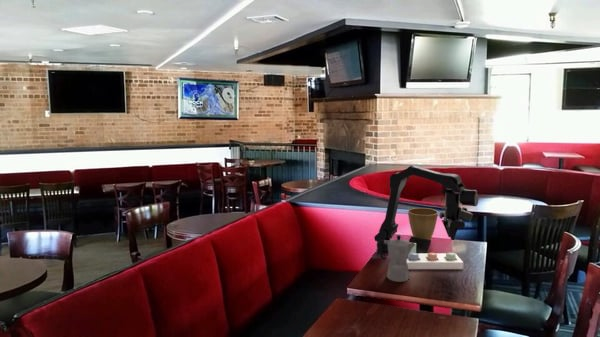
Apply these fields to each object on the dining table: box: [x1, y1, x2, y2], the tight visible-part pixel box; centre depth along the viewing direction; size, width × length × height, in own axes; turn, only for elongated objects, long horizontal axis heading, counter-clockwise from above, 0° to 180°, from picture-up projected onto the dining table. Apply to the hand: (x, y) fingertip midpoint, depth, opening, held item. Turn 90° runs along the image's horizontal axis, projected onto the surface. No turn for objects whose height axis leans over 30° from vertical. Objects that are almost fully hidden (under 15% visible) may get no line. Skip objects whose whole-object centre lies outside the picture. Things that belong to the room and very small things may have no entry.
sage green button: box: [446, 252, 457, 260], centre depth 204 cm, size 4×4×4 cm
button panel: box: [407, 243, 464, 270], centre depth 205 cm, size 24×12×8 cm, turn 87°
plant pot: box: [407, 207, 439, 241], centre depth 238 cm, size 15×15×16 cm
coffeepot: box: [376, 235, 415, 283], centre depth 190 cm, size 15×9×18 cm, turn 75°
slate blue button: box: [409, 253, 419, 261], centre depth 205 cm, size 4×4×4 cm
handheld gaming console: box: [408, 235, 432, 253], centre depth 225 cm, size 12×7×10 cm
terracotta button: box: [428, 252, 437, 260], centre depth 204 cm, size 4×4×4 cm
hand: (451, 238), depth 203 cm, fingers open, 4 cm apart
